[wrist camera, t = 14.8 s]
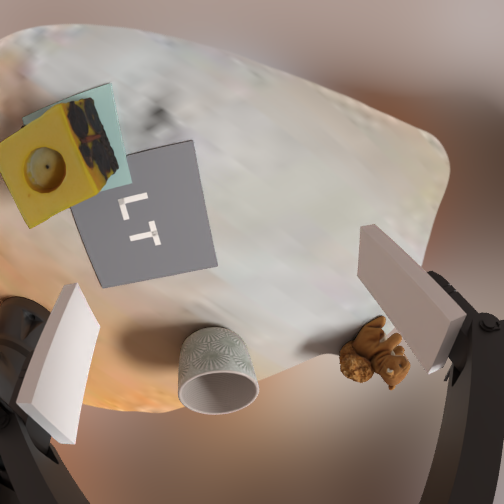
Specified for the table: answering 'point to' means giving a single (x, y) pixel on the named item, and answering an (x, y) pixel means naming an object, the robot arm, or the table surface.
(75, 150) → the candle
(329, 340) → the table surface
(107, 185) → the pad
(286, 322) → the table surface
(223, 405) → the planter
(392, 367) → the stuffed squirrel
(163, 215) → the gray mat
